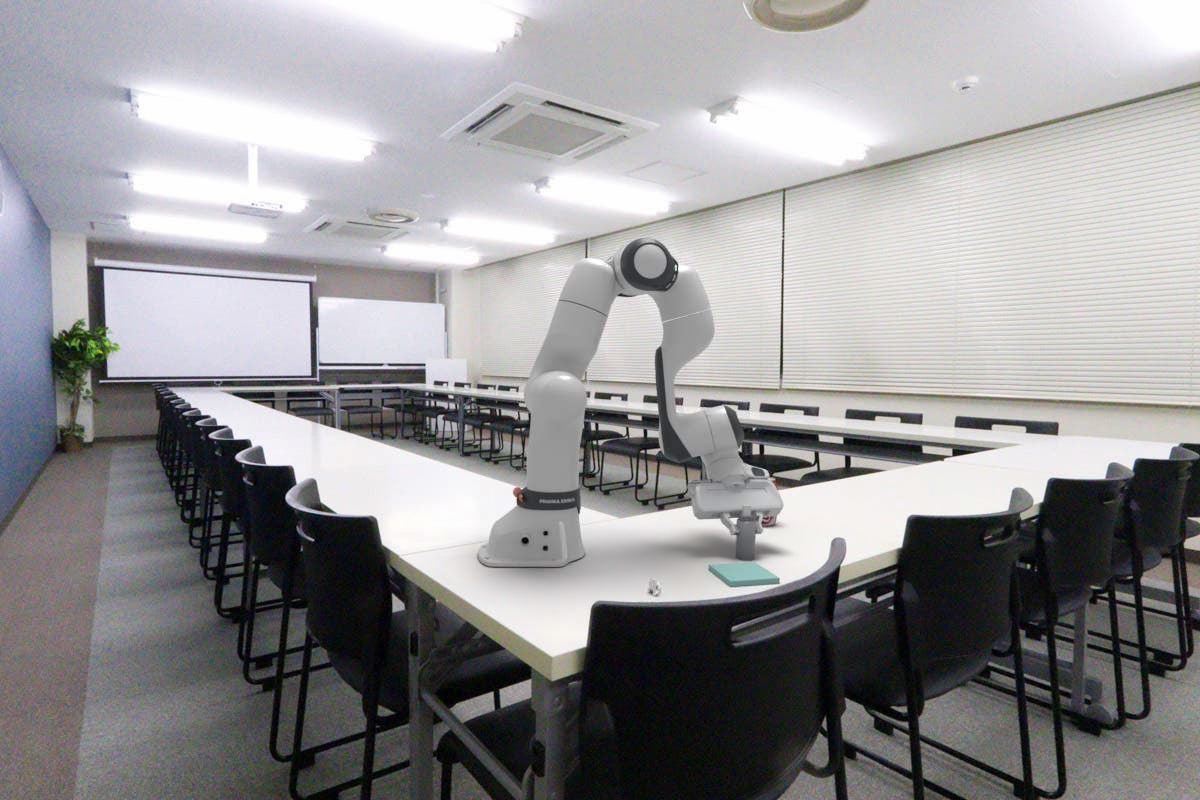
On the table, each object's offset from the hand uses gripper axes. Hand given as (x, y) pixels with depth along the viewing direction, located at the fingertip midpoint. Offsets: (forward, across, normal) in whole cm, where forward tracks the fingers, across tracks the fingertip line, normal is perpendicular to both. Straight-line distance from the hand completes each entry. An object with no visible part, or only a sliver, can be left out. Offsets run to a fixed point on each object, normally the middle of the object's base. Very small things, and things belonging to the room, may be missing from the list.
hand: (747, 533), depth 133 cm
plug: (+3, 0, +4) cm, 5 cm away
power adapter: (+15, -24, -7) cm, 30 cm away
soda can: (-15, +18, +23) cm, 33 cm away
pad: (+11, -6, -4) cm, 13 cm away
